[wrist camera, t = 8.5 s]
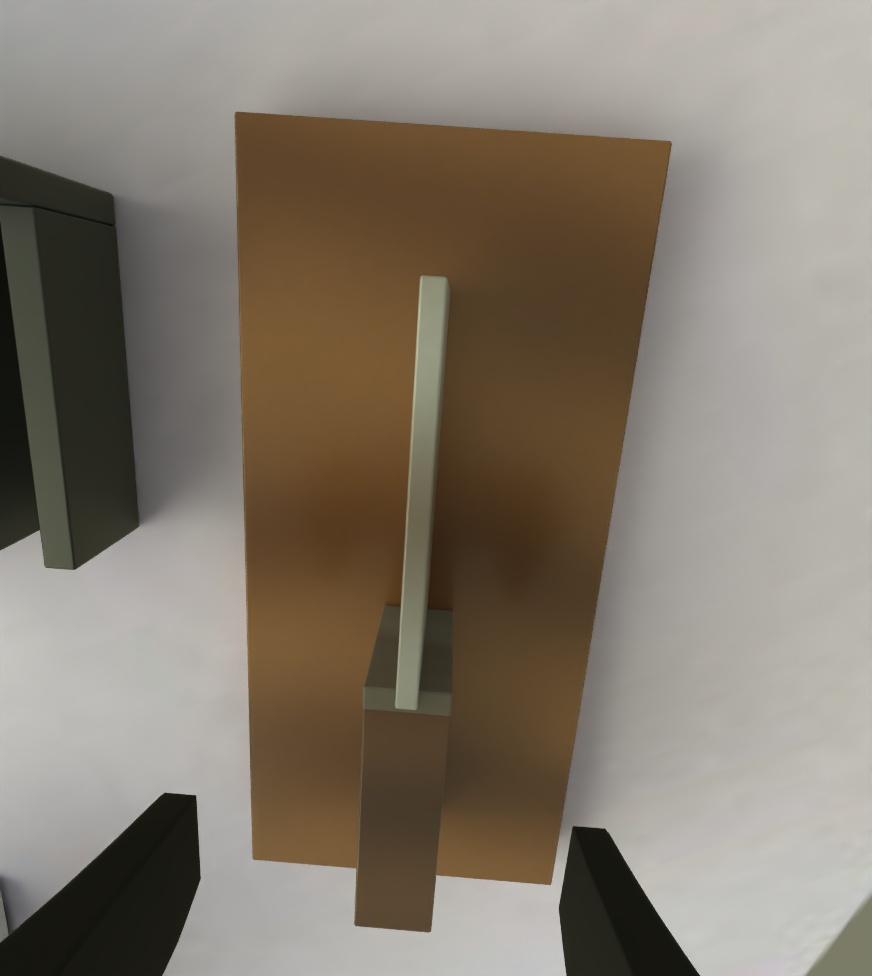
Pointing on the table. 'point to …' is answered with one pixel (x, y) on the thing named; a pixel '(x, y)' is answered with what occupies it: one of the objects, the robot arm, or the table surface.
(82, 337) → the dish rack
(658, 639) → the table surface
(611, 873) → the robot arm
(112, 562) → the table surface
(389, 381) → the cutting board
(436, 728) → the knife
